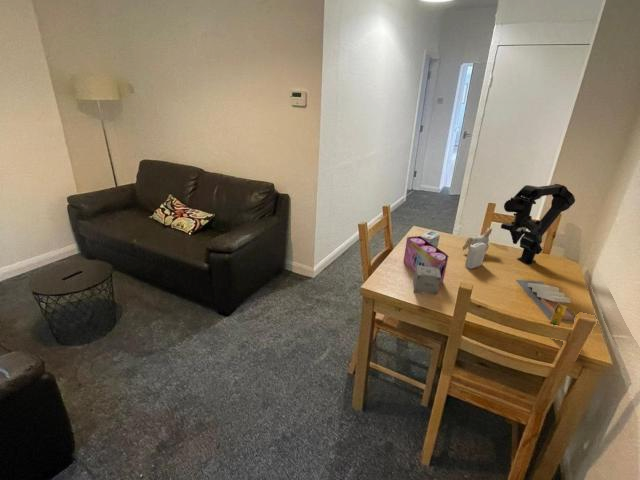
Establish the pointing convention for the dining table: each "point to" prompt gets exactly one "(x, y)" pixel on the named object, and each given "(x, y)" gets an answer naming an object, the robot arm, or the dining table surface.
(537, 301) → the mat
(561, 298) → the domino
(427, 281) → the grey cardboard box
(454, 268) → the dining table surface
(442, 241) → the dining table surface
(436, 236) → the light bulb box
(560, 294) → the domino
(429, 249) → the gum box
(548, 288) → the domino
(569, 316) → the domino
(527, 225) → the robot arm
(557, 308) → the crayon box
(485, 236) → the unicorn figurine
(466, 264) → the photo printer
